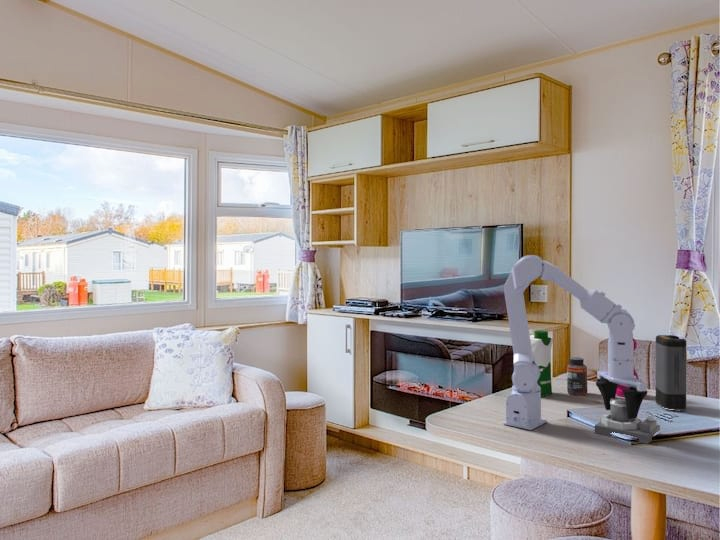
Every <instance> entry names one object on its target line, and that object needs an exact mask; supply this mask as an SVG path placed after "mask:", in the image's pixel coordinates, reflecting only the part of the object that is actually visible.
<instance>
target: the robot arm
mask: <svg viewBox="0 0 720 540" xmlns="http://www.w3.org/2000/svg"><path fill="white" fill-rule="evenodd" d="M540 277H541V278H540ZM538 278H540V280H541V281H544V282H545V281H546V282H553V283H554V284H556V285H557V286H558V287H560V288H562V290H565V291H566V292H568V293H569V294H571V295H572V296H573V297H575V298H576V299H578V300H579V304H580V308H581V309H582V310H584V311H585V312H586V313H588V314H589V315H590V316H592V317H593V318H594V319H595V320H598V322H600V323H601V324H607V327H608V331H609V332H608V333H609V334H608V336H609V337H608V340H607V371H606V370H597V371H596V372H597V373H596V374H597V375H596V376H597V377H596V379H598V380H599V381H597V380H596V381H595V385H596V387H597V389H598V390H599V393H600V394H601V395H600V396H601V397H602V401H603V405H604V408H605V410H606V411H611V406H610V399H611V398H616V396H617V395H616V391H617V387H618V384H620V385H623V386H626V387H630V389H623V390H622V391H623V394H624V396H625V397H624V398H625V400H626V406H627V416H628V418H629V419H633V418H638V415H639V411H640V407H641V406H642V402H644V400H645V397H646V396H647V395H648V390H647V382H645V381H642V380H640V379H637V378H636V376H634V368H635V365H634V358H635V357H634V352H635V350H634V342H633V340H632V339H633V338H634V333H633V331H634V330H635V329H636V328H635V327H636V323H635V320H634V318H633V316H632V315H631V314H630V313H629V311H627V309H623V306H622V305H621V304H619V303H618V304H616V303H615V302H614V301H612V300H611V299H610V298H608V297H607V296H606V293H605V292H604V291H603V290H600V291H598V290H597V289H590V290H589V289H587V288H585V287H584V286H582V285H581V284H580V283H579V282H578V281H576V280H574V279H573V278H572V277H571V276H570V275H568V274H567V273H566V272H565V271H563V270H562V269H560V268H559V267H558V266H556V265H555V264H552V262H551V263H550V262H549V261H548V260H543V258H541V257H540V256H539V255H534V254H527V255H524V256H522V257H520V259H518V261H516V263H514V265H513V266H512V267H511V270H510V273H509V276H508V277H507V279H506V281H505V284H504V286H503V292H504V294H503V295H504V299H505V306H506V310H507V311H506V312H507V317H508V318H507V319H508V320H507V321H508V325H509V332H510V338H511V346H512V351H513V361H512V362H513V373H512V375H511V381H512V386H511V393H510V394H509V395H508V396H507V399H506V402H505V411H506V412H505V415H506V417H505V421H502V424H503V425H506V426H511V427H515V428H516V427H517V428H521V429H524V430H528V431H529V430H530V431H532V430H534V429H536V428H538V427H540V426H541V425H543V424H546V423H547V422H548V420H547V419H545V418H542V397H541V387H540V386H539V385H538V384H537V380H538V379H539V377H540V369H539V367H538V366H537V364H536V363H535V359H534V355H533V352H532V347H531V341H530V335H531V334H530V328H529V321H528V316H527V315H528V314H527V309H526V303H525V296H524V292H525V290H526V289H527V288H528V287H529V286H530V284H531V283H532V282H533V281H535V280H536V279H538Z"/></svg>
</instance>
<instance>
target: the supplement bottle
mask: <svg viewBox="0 0 720 540" xmlns="http://www.w3.org/2000/svg"><path fill="white" fill-rule="evenodd" d="M584 360H585V359H584V357H581V356H579V357H578V356H573V357H570V358H569V364H568V365H567V366H566V382H567V383H566V390H567V391H566V392H567V393H568V394H569V395H571V396H578V397H579V396H585V395H587V394H588V366H587V365H586V364H585V363H584Z"/></svg>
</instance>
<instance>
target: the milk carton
mask: <svg viewBox="0 0 720 540" xmlns="http://www.w3.org/2000/svg"><path fill="white" fill-rule="evenodd" d="M530 341H531V347H532V352H533V355H534V359H535V363H536V364H537V366H538V367H539V369H540V377H539V379H538V380H537V384H538V385H539V386H540V387H541V398H542V397H544V396H548V395H551V394H553V389H552V388H553V387H552V347H553V341H554V337H551V336H549V331H548V330H535V331H534V334H532V335H531V334H530Z"/></svg>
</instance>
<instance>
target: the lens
mask: <svg viewBox="0 0 720 540" xmlns="http://www.w3.org/2000/svg"><path fill="white" fill-rule="evenodd" d="M610 406H611V410H610V414H611V418H610V420H611V421H616V422H622V423H625V422H631V421H630V419H629V418H628V416H627V406H626V400H625V397H615V398H611V399H610Z"/></svg>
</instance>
